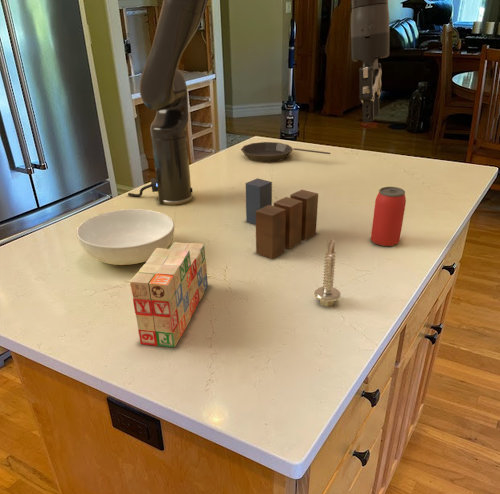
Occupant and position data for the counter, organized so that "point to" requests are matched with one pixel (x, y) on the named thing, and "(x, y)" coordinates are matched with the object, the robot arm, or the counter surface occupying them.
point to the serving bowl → (125, 235)
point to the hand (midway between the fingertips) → (371, 119)
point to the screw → (328, 279)
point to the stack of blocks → (168, 292)
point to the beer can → (388, 216)
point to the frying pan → (270, 151)
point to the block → (257, 197)
